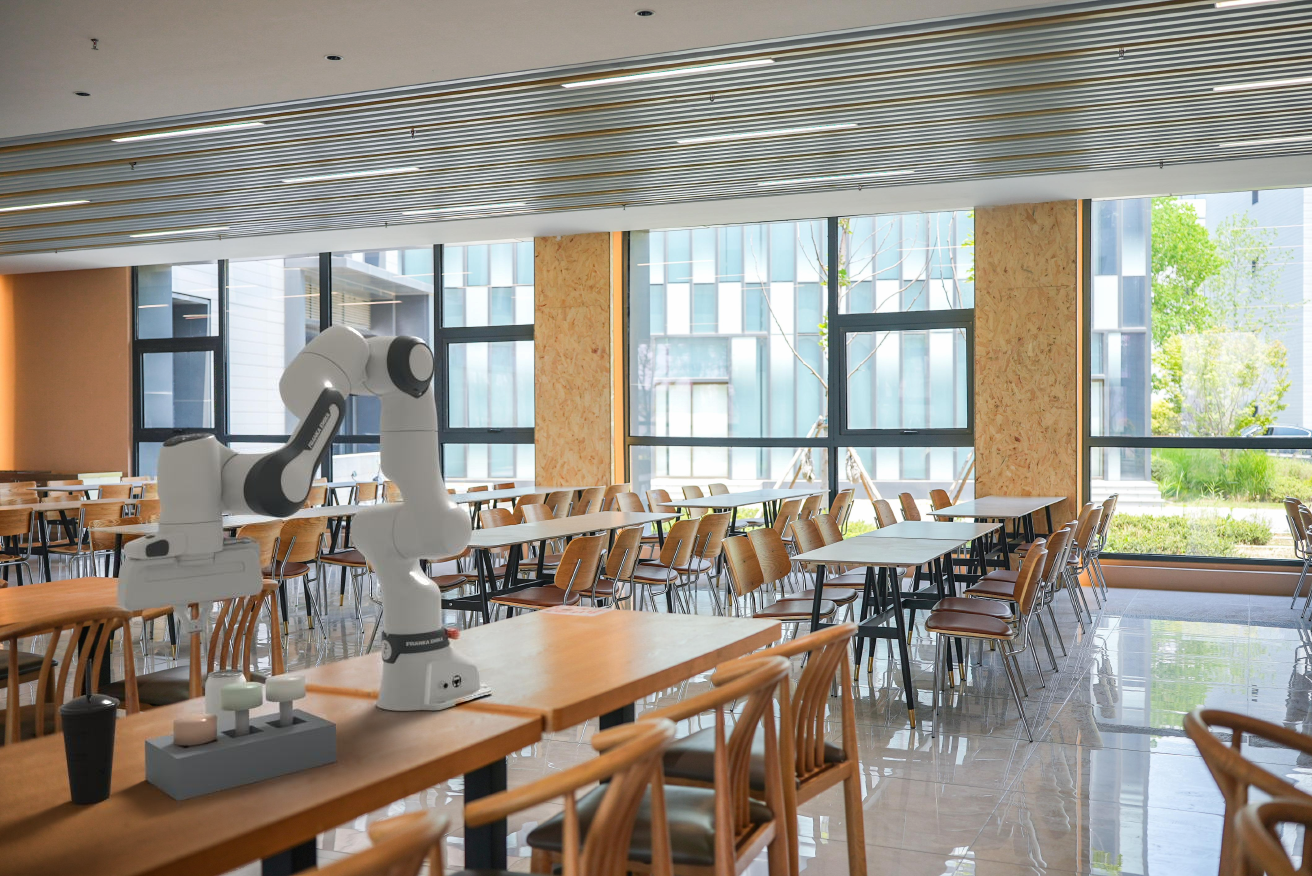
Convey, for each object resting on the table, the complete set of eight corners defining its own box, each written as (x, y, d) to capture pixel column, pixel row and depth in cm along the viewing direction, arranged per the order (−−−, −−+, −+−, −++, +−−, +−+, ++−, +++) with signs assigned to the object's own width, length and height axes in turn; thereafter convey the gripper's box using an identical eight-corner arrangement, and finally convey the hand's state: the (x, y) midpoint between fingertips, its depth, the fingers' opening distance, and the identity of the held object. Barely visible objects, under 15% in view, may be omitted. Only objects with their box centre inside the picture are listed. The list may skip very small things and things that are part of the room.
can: (232, 749, 167) (230, 677, 167) (197, 748, 168) (196, 676, 168) (255, 738, 173) (253, 668, 173) (221, 737, 174) (220, 668, 175)
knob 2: (296, 724, 165) (295, 672, 165) (312, 730, 161) (311, 677, 161) (260, 732, 161) (259, 678, 161) (276, 739, 156) (274, 684, 156)
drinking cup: (56, 811, 139) (53, 667, 139) (64, 794, 146) (61, 657, 146) (118, 802, 142) (115, 661, 142) (123, 786, 149) (120, 652, 149)
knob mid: (254, 733, 160) (253, 680, 160) (269, 740, 156) (268, 685, 156) (215, 741, 156) (214, 686, 156) (230, 749, 151) (229, 692, 152)
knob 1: (209, 766, 155) (208, 711, 155) (224, 775, 151) (223, 718, 151) (168, 776, 151) (167, 719, 151) (182, 785, 147) (181, 727, 147)
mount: (298, 744, 169) (297, 708, 169) (336, 761, 159) (336, 723, 159) (145, 779, 152) (144, 739, 152) (177, 800, 142) (177, 758, 142)
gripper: (251, 533, 161) (254, 619, 161) (112, 546, 146) (114, 640, 146) (268, 535, 156) (270, 624, 156) (125, 548, 142) (128, 646, 142)
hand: (194, 632), depth 151 cm, fingers closed
